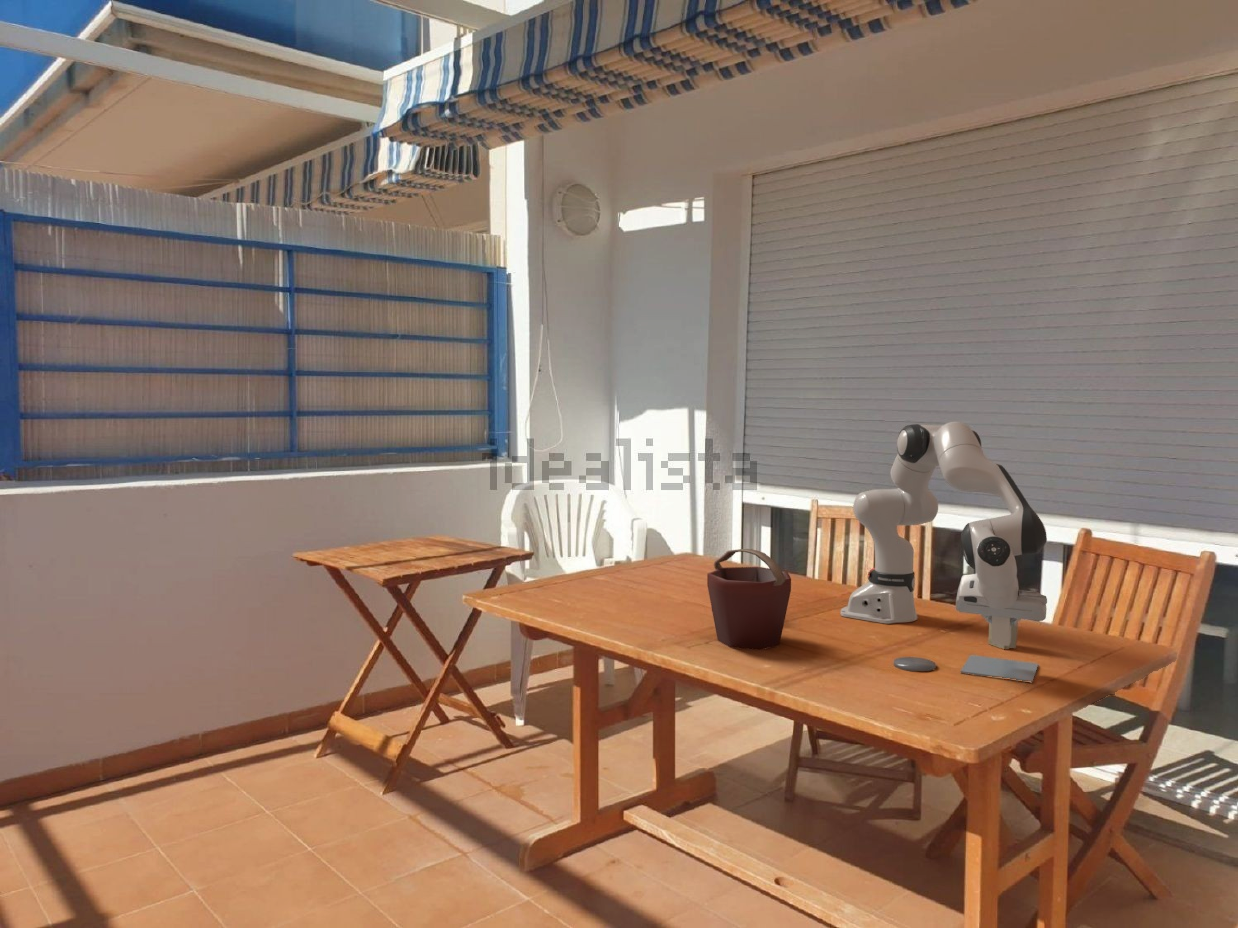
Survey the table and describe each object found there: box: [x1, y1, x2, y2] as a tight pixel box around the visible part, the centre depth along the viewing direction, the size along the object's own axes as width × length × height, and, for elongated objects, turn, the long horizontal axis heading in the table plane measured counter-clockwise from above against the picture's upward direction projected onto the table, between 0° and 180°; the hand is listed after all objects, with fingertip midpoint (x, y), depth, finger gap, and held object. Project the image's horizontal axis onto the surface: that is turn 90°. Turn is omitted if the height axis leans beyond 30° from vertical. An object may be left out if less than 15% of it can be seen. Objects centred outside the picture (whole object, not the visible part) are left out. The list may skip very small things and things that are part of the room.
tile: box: [959, 654, 1039, 682], centre depth 230 cm, size 16×16×1 cm
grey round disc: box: [893, 656, 937, 672], centre depth 233 cm, size 10×10×1 cm
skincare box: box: [987, 621, 1019, 650], centre depth 250 cm, size 6×4×12 cm
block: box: [991, 616, 1011, 646], centre depth 229 cm, size 4×4×9 cm
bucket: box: [706, 548, 792, 651], centre depth 255 cm, size 24×22×25 cm
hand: (1002, 621), depth 229 cm, fingers closed on block, 4 cm apart
